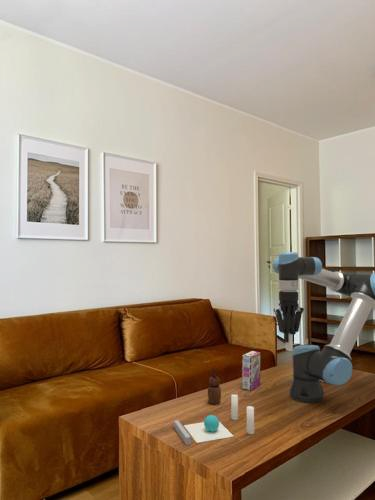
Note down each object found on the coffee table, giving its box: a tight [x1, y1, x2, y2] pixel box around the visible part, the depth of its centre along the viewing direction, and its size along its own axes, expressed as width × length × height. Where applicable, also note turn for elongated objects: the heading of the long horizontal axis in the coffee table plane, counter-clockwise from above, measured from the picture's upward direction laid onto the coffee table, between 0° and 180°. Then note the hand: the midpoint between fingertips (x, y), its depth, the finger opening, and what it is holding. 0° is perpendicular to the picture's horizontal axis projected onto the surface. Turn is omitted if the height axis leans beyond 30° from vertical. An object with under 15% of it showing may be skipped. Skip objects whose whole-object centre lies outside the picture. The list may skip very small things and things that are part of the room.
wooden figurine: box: [207, 366, 222, 405], centre depth 163 cm, size 7×6×15 cm
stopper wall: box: [173, 419, 192, 446], centre depth 133 cm, size 2×14×2 cm, turn 19°
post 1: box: [230, 393, 239, 421], centre depth 146 cm, size 3×3×9 cm
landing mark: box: [183, 421, 235, 444], centre depth 136 cm, size 14×14×1 cm
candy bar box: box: [241, 350, 261, 392], centre depth 183 cm, size 11×5×16 cm, turn 145°
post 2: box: [246, 405, 255, 435], centre depth 135 cm, size 3×3×9 cm
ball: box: [203, 414, 220, 432], centre depth 136 cm, size 6×6×6 cm
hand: (289, 350), depth 148 cm, fingers closed
